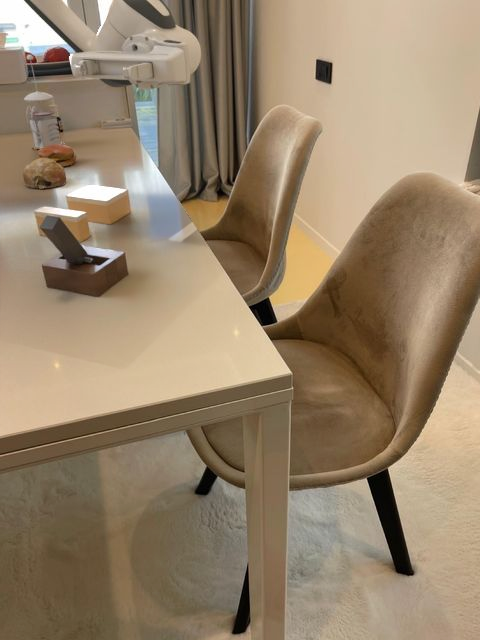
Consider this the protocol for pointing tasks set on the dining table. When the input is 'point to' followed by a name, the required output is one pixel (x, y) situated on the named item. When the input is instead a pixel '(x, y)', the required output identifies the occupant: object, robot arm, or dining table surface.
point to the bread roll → (44, 174)
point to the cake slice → (66, 221)
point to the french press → (42, 119)
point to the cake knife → (65, 241)
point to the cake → (100, 203)
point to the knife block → (86, 272)
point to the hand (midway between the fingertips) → (101, 72)
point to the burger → (58, 154)
